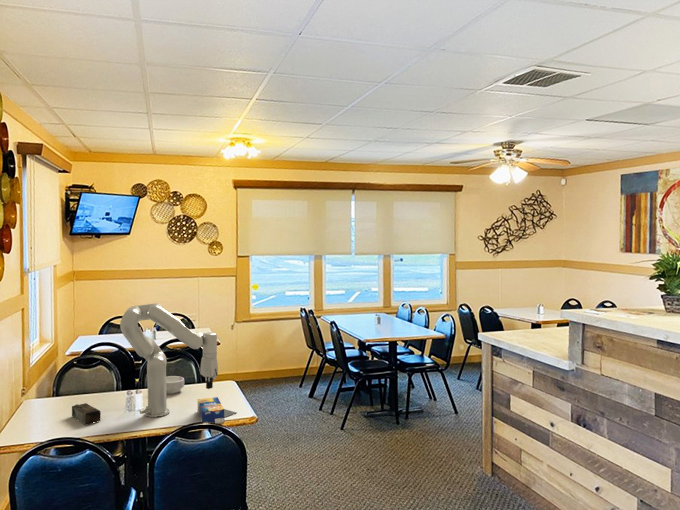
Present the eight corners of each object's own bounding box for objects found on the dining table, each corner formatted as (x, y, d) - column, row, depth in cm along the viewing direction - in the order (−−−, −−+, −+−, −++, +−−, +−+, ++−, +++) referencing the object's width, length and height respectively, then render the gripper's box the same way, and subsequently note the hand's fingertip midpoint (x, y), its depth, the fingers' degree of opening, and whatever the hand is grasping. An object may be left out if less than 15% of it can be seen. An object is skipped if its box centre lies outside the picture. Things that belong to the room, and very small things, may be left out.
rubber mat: (219, 419, 281) (219, 418, 281) (204, 414, 288) (204, 414, 288) (236, 413, 290) (236, 412, 290) (221, 409, 298) (221, 408, 298)
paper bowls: (189, 391, 330) (189, 378, 330) (166, 397, 319) (166, 383, 319) (175, 386, 341) (175, 374, 340) (153, 391, 329) (153, 379, 329)
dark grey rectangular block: (86, 413, 290) (86, 401, 290) (101, 422, 277) (101, 409, 277) (71, 417, 285) (71, 404, 284) (85, 426, 271) (85, 413, 271)
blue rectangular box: (217, 409, 297) (224, 422, 277) (197, 411, 293) (202, 425, 273) (217, 397, 297) (224, 409, 277) (197, 399, 293) (202, 411, 273)
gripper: (195, 354, 298) (195, 387, 298) (213, 358, 288) (212, 392, 289) (206, 352, 304) (206, 384, 304) (223, 356, 294) (223, 389, 295)
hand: (209, 388), depth 297 cm, fingers closed
